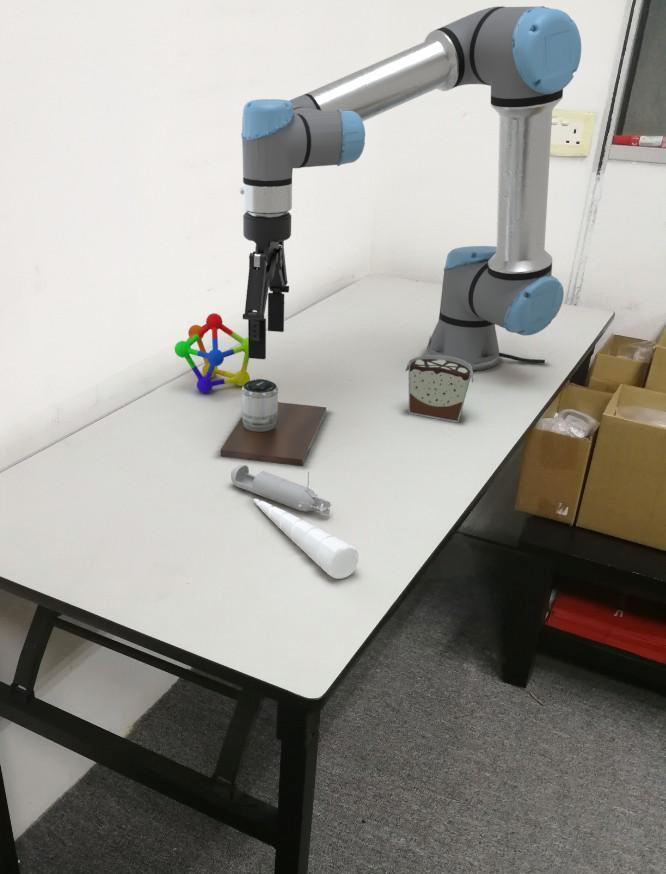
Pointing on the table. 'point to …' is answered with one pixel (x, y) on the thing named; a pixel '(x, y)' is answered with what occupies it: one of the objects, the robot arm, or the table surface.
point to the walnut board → (278, 436)
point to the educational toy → (213, 354)
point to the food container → (438, 386)
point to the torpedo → (279, 490)
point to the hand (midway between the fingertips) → (266, 344)
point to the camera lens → (259, 405)
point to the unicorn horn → (315, 542)
